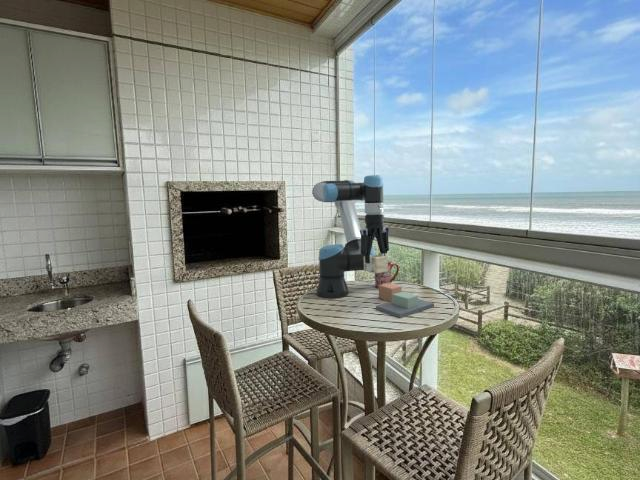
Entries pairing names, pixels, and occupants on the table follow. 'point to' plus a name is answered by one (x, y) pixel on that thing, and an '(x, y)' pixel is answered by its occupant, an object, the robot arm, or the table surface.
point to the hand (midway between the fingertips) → (375, 269)
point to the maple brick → (378, 264)
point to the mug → (385, 275)
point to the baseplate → (403, 310)
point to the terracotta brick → (388, 291)
